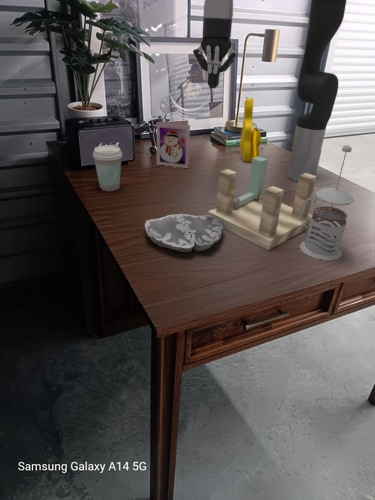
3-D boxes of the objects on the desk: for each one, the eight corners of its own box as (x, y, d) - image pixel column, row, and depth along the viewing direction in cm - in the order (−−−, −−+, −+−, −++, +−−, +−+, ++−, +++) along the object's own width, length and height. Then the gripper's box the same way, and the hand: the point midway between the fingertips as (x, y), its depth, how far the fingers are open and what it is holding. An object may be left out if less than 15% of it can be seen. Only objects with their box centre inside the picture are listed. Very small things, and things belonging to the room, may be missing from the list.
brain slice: (154, 264, 85) (154, 252, 83) (140, 227, 98) (140, 217, 97) (237, 253, 90) (239, 242, 88) (212, 220, 104) (213, 210, 102)
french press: (336, 265, 87) (368, 156, 74) (286, 249, 92) (308, 144, 79) (346, 247, 94) (377, 144, 81) (299, 233, 99) (321, 134, 86)
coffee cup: (90, 190, 117) (86, 150, 111) (105, 180, 124) (102, 143, 117) (114, 195, 114) (112, 155, 108) (129, 185, 121) (127, 147, 115)
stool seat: (254, 200, 115) (260, 156, 108) (313, 225, 103) (325, 176, 96) (207, 219, 103) (211, 171, 96) (268, 250, 91) (277, 197, 84)
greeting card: (156, 166, 137) (156, 122, 129) (161, 159, 143) (162, 117, 136) (187, 169, 135) (189, 125, 128) (192, 163, 142) (194, 120, 134)
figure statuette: (260, 168, 139) (269, 104, 128) (238, 167, 140) (245, 103, 128) (257, 153, 154) (265, 95, 143) (237, 152, 155) (244, 93, 143)
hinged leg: (235, 210, 102) (240, 169, 97) (226, 206, 104) (230, 166, 98) (262, 196, 111) (268, 158, 105) (253, 193, 112) (258, 156, 107)
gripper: (188, 15, 100) (186, 87, 109) (236, 17, 95) (229, 92, 104) (200, 15, 106) (197, 83, 115) (246, 17, 101) (239, 88, 110)
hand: (213, 87), depth 110 cm, fingers closed
